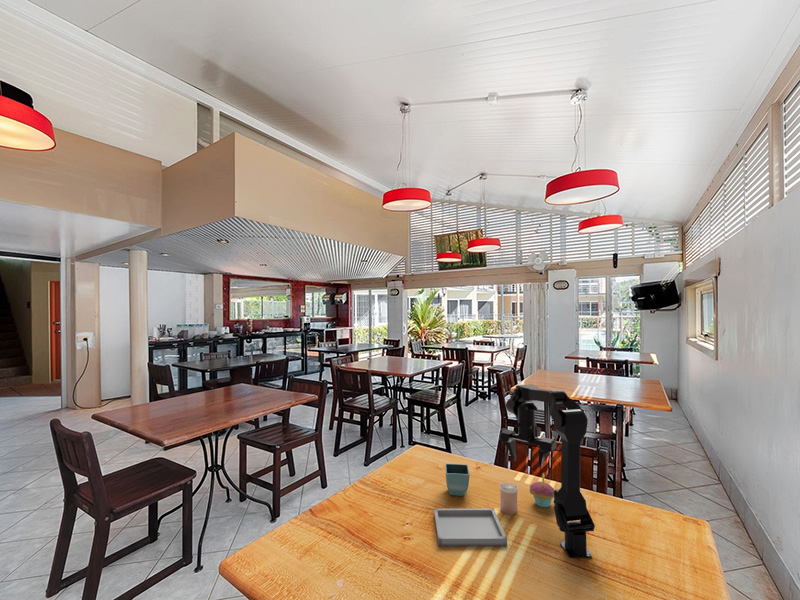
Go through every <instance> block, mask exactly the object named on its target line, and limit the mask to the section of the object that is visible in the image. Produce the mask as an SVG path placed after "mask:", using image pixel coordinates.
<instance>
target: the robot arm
mask: <svg viewBox="0 0 800 600" xmlns="http://www.w3.org/2000/svg"><path fill="white" fill-rule="evenodd" d="M509 397H510V398H509V399H508V400H507V401H506V403H505V408H506V410H507V411H508V412H509V413H511V414H512V415H514V416H516V417H517V423H516V427H517V428H518V429H517V430H518V434H517V433H516V432H515V431H516V430H511V429H504V430H503V431H501V432H500V433H499V437H498V438H499V439H498V440H499V441H501V442H502V444H503V445H505V447H506V448H507V450H508V452H509V454H510V456H511V458H512V460H513V462H516V461H517V450H516V449H517V448H516V444H517V441H518V442H523V443H527V444H531V445H536V446H539V447H538V448H539V450H538V467H539V469H542V468H543V464H544V461H545V459H546V456H547V454H549V453H551V452H554V450H556V448H557V441H556V440H555V439H553V438H549V437H543V438H541V439H538V437H541V432H542V428H541V427H539V426H537V422H536V413H535V412H536V411H538V407H537V406H536V405H535V403H534V402H535V401H537V402H542V403H543V402H544V403H548V404H549V415H550V416H551V419H552V420H553V421H554V423H555V424H554V425H555V430H556V432H557V434H558V435H559V437H560V438H561V439H560V440H561V451H560V452H561V461H560V462H561V463H560V465H561V468H560V470H561V475H560V476H561V480H560V481H561V482H560V483H561V486H560V488H557V489H554V498H553V504H554V506H553V510H554V515H555V521H556V525H557V527H558V528H559V531H560V532H563V533H564V534H563V535H564V540H560V541H559V545H561V546H560V547H562V549H563V550H564V552H565V553H566V554H567V556H568V558H572V559H573V558H576V559H579V558H593V554H592V553H591V552H590V550H589V549H588V548H587V546H588V545H587V542H588V541H587V532H588V533H589V532H594V531H595V528H596V525H595V523H594V521H593V519H592V517H591V514H590V511H589V510H588V507H587V501H586V498H585V497H584V496H583V494H582V492H581V442H582V441H583V438H584V437H585V436H586V435H587V431H588V430H587V429H588V422H589V421H588V420H589V419H588V416H587V415H586V413H585V412H584V410H583V409H582V408H581V406H580V404H579V403H578V402H576V401H574V400H573V399H572V398H571V397H569V396H568V394H567V393H566V392H565V391H564V390H562V389H558V390H557V389H556V390H555V389H545V388H539V386H537V385H535V384H522V385H521V384H516V385H515V388H514V389H513V391H512V394H510V396H509ZM556 404H559V405H560V404H562V406H563V407H565V408H566V409H560V410H559V409H558V408H557V407H556Z"/></svg>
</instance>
